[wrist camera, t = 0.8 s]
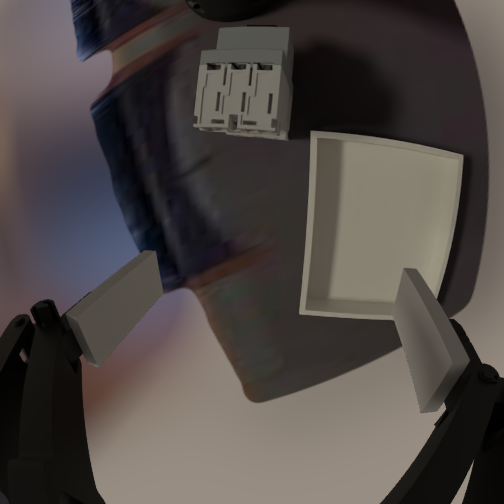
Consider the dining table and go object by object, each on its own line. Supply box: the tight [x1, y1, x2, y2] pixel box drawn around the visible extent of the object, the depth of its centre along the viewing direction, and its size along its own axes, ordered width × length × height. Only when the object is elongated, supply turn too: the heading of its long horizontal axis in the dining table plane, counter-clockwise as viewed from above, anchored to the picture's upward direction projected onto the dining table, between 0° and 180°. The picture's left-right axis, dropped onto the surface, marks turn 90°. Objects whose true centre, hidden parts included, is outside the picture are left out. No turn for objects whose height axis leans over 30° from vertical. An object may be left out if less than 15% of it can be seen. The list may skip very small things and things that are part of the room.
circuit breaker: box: [193, 25, 294, 141], centre depth 26 cm, size 8×14×15 cm, turn 175°
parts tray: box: [299, 131, 463, 320], centre depth 35 cm, size 26×22×4 cm
